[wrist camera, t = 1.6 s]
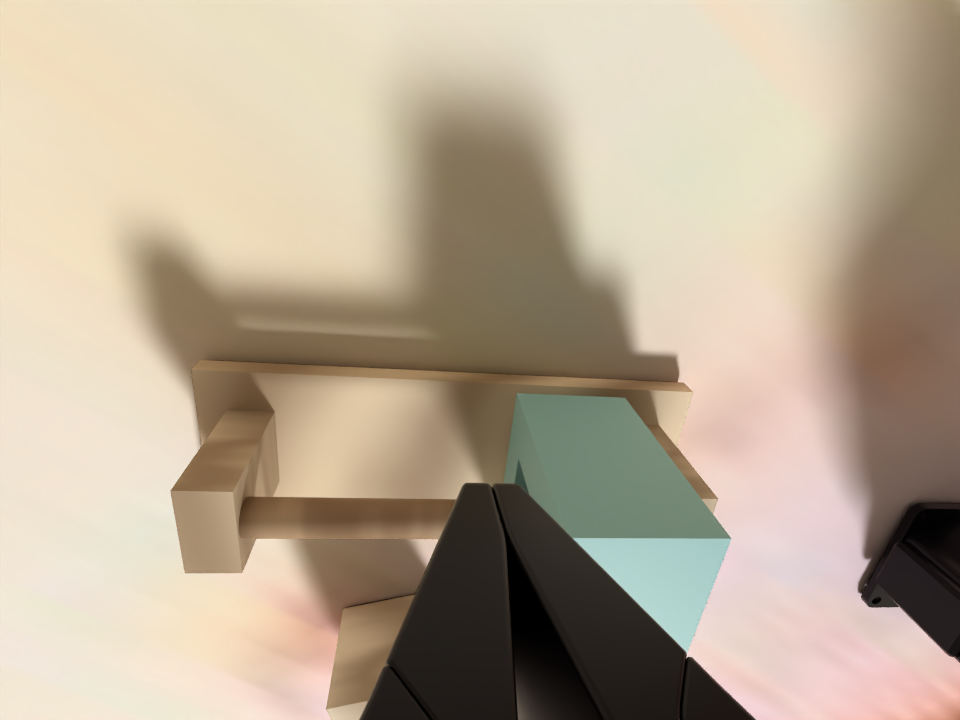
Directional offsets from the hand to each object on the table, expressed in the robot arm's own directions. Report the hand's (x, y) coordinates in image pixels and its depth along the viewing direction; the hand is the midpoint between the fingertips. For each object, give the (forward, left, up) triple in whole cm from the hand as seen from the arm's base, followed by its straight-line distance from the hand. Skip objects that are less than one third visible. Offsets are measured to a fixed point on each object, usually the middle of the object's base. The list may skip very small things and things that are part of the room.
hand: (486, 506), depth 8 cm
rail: (0, +6, -11) cm, 13 cm away
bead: (-5, +6, -10) cm, 12 cm away
